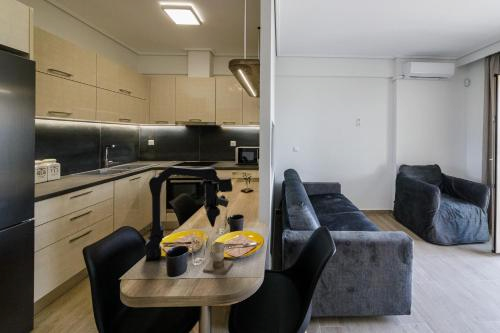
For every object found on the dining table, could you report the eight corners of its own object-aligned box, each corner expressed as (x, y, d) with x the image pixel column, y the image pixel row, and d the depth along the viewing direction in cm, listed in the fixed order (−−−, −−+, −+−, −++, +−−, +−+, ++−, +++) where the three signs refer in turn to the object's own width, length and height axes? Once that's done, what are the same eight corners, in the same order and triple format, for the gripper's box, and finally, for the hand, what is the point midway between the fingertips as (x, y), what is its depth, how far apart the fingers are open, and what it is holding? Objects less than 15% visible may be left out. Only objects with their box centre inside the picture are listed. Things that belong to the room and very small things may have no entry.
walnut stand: (203, 271, 116) (202, 262, 116) (212, 260, 126) (212, 252, 125) (224, 274, 114) (224, 265, 113) (232, 263, 123) (232, 255, 123)
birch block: (212, 260, 118) (211, 245, 117) (215, 256, 122) (215, 241, 121) (220, 261, 117) (220, 246, 116) (224, 257, 121) (223, 242, 120)
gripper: (230, 196, 124) (231, 228, 127) (224, 187, 142) (225, 216, 145) (206, 198, 122) (207, 231, 124) (203, 189, 140) (204, 218, 142)
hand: (211, 223), depth 134 cm, fingers open, 9 cm apart
